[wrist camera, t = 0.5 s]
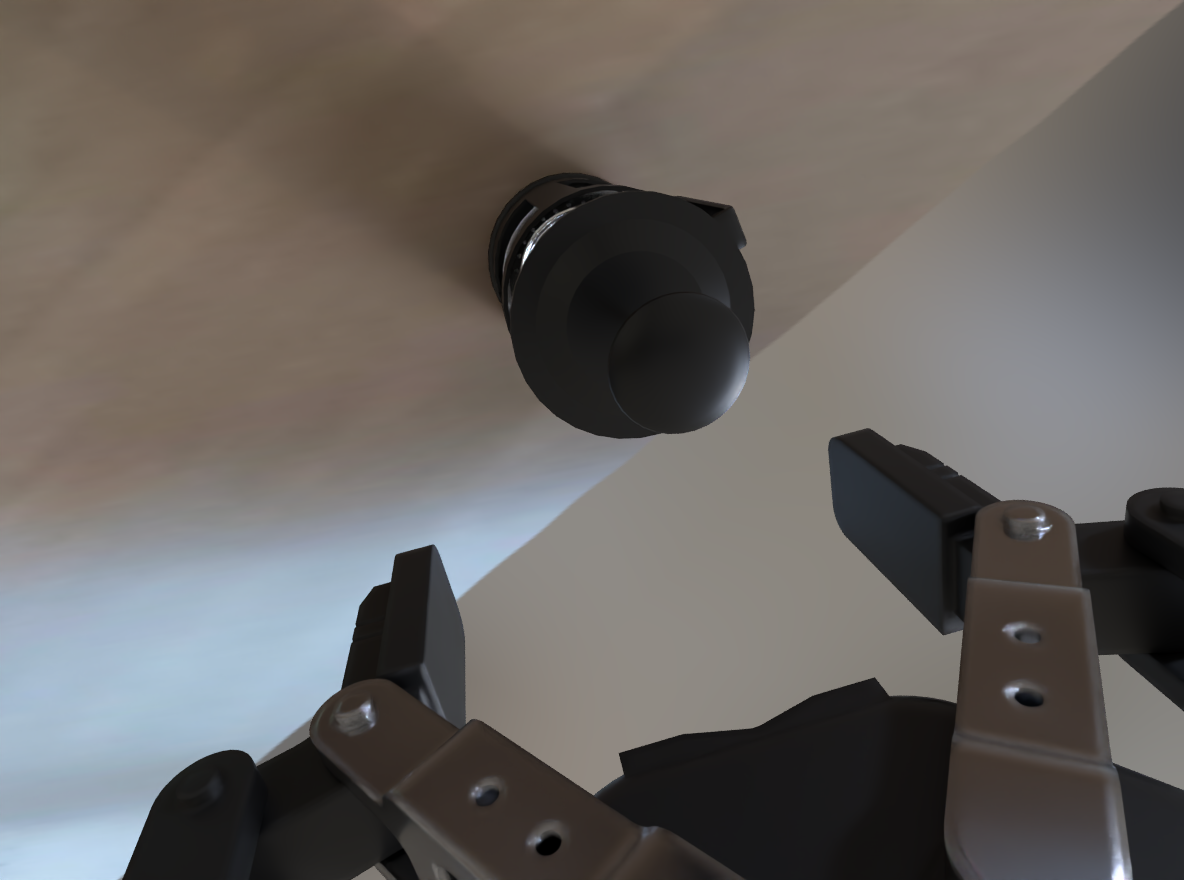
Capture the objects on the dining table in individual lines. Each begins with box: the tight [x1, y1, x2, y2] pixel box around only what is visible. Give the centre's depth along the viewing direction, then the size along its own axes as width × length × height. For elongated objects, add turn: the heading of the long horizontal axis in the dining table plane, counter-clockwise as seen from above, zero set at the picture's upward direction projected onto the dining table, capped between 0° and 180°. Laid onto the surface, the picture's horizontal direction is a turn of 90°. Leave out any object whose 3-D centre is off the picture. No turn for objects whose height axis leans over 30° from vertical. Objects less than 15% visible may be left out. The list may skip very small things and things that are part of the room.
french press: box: [488, 173, 755, 439], centre depth 31 cm, size 12×9×23 cm
